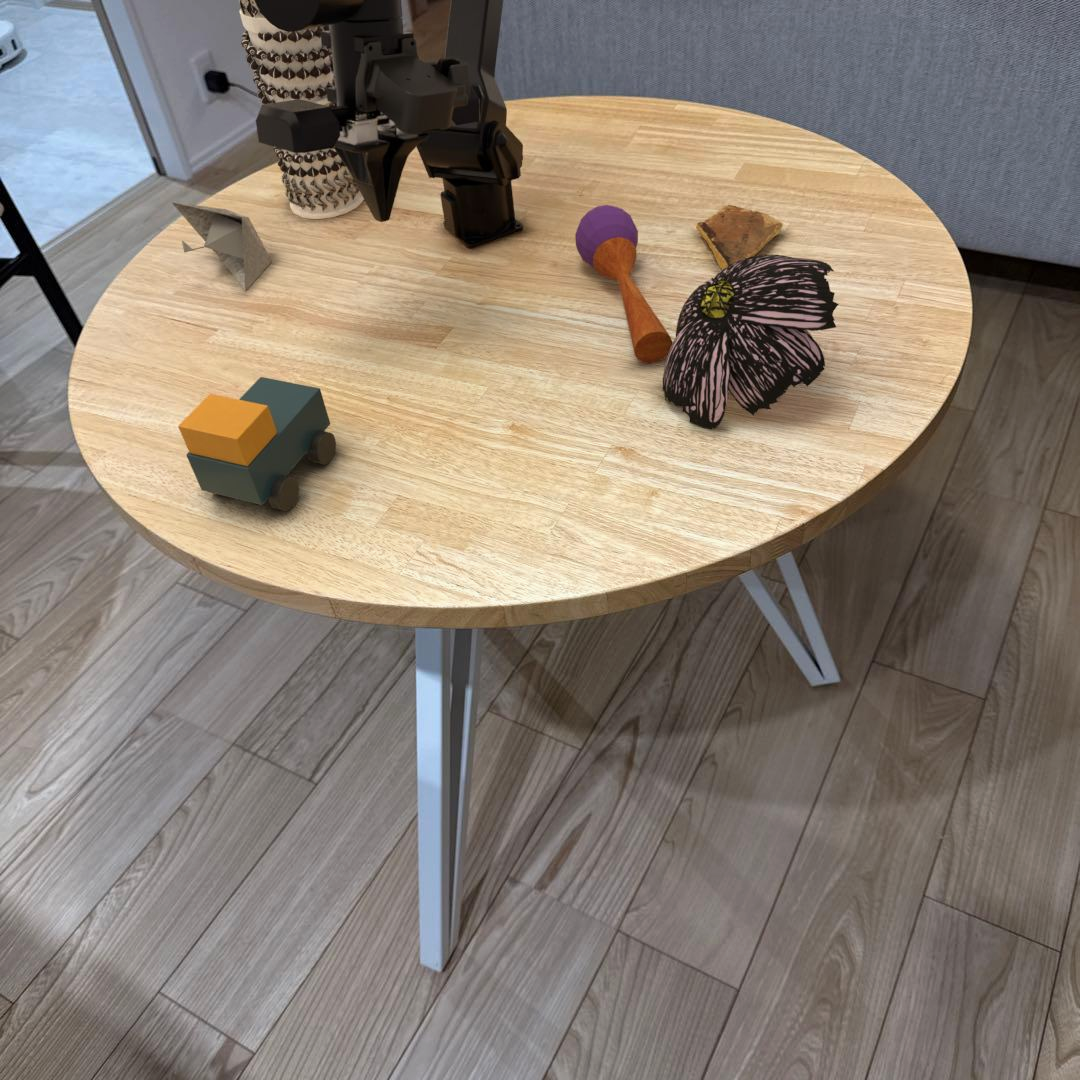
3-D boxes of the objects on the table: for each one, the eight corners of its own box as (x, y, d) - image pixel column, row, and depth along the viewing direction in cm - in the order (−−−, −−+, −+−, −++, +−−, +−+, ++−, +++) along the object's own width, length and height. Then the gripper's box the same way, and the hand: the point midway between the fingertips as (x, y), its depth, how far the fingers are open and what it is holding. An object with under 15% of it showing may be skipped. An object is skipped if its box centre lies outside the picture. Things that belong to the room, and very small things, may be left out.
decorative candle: (385, 190, 113) (335, -58, 96) (331, 227, 108) (268, -28, 90) (324, 176, 117) (266, -65, 99) (270, 211, 112) (198, -37, 94)
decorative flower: (633, 242, 81) (821, 190, 76) (673, 331, 91) (843, 290, 85) (634, 385, 74) (840, 340, 69) (677, 466, 84) (863, 431, 78)
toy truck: (242, 347, 78) (164, 425, 72) (321, 362, 76) (247, 443, 70) (271, 428, 84) (200, 506, 78) (344, 443, 82) (278, 526, 75)
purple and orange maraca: (613, 332, 83) (563, 205, 96) (626, 383, 87) (577, 256, 100) (682, 309, 82) (623, 185, 95) (691, 362, 87) (634, 236, 100)
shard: (732, 286, 93) (733, 268, 92) (662, 265, 97) (662, 249, 96) (785, 234, 99) (787, 217, 98) (717, 217, 103) (718, 200, 101)
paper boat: (302, 253, 102) (232, 273, 96) (282, 296, 107) (213, 318, 100) (228, 168, 103) (154, 182, 96) (211, 214, 108) (138, 231, 101)
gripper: (323, 38, 67) (346, 266, 76) (523, 17, 78) (524, 218, 87) (237, 23, 74) (268, 234, 83) (433, 6, 85) (442, 194, 94)
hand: (382, 220), depth 86 cm, fingers closed
